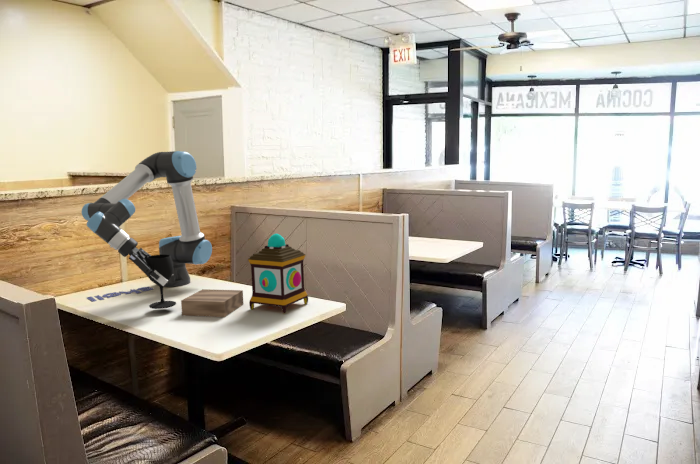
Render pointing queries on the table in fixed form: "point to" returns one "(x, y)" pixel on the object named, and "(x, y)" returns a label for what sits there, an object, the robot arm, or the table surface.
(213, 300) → the walnut block
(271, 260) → the decorative lantern
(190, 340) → the table surface
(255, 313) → the table surface
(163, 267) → the wine glass
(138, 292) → the signage
